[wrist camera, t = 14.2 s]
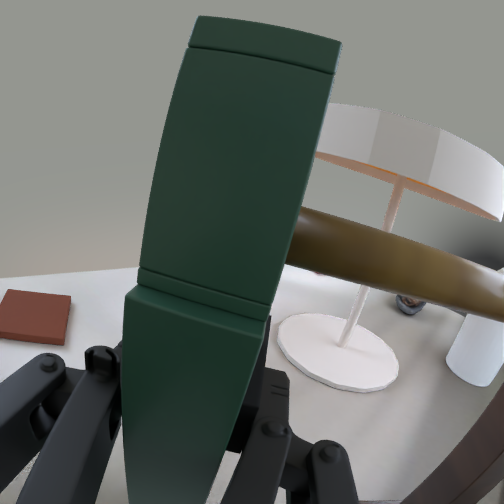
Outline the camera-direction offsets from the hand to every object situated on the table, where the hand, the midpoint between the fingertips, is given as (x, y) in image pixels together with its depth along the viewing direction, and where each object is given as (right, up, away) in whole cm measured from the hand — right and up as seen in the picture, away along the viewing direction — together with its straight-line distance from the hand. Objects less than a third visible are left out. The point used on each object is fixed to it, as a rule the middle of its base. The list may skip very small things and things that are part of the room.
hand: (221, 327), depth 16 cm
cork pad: (-26, -5, +16) cm, 31 cm away
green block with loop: (-4, -14, -1) cm, 15 cm away
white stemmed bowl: (+15, -11, +30) cm, 35 cm away
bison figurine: (+39, -10, +53) cm, 67 cm away
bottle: (+42, -18, +30) cm, 55 cm away
